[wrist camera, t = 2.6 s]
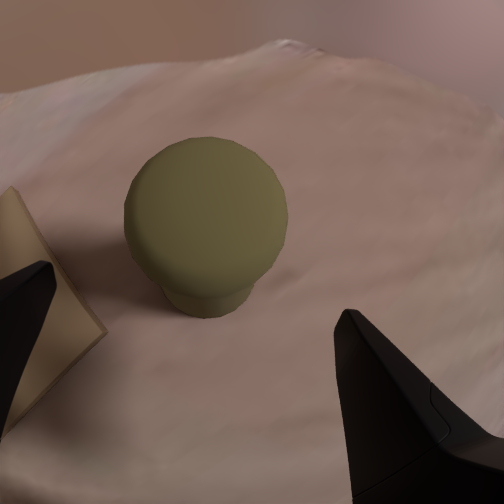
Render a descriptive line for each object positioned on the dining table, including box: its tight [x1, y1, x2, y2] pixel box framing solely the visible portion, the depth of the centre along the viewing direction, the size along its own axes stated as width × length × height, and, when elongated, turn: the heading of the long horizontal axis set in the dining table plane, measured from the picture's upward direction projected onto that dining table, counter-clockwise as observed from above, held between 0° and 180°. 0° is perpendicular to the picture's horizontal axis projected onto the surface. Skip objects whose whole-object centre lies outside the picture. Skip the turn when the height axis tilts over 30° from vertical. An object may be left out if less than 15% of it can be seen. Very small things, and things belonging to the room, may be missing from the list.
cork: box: [124, 137, 288, 319], centre depth 13 cm, size 6×6×11 cm
